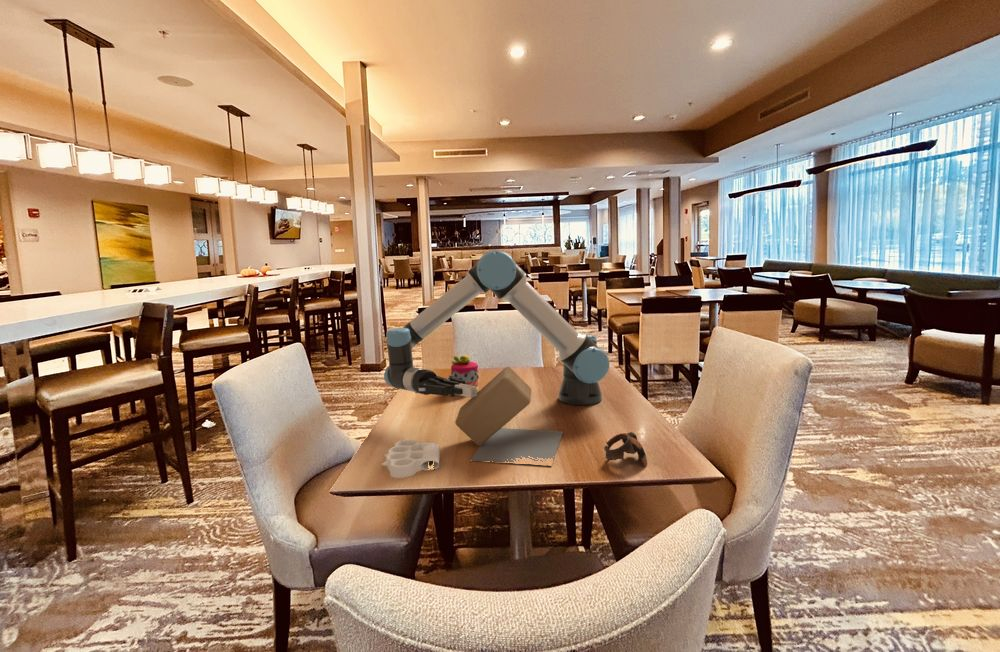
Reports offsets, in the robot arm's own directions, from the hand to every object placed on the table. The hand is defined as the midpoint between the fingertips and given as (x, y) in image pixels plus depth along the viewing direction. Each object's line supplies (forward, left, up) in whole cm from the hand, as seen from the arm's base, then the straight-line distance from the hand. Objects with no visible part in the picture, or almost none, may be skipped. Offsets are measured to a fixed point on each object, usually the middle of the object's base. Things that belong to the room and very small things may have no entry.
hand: (473, 392), depth 140 cm
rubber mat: (-12, 0, -15) cm, 20 cm away
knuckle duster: (+13, +15, -16) cm, 25 cm away
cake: (+19, -50, -15) cm, 56 cm away
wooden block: (+2, -1, -11) cm, 11 cm away
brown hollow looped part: (-41, +5, -15) cm, 44 cm away
